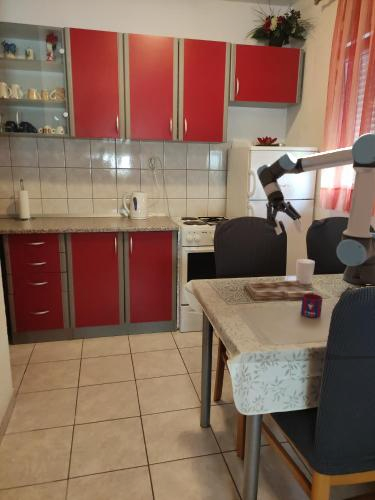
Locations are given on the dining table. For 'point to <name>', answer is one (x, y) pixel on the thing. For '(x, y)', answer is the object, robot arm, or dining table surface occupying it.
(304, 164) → the robot arm
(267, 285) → the wooden tray
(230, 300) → the dining table surface
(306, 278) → the white cup
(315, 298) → the mug
